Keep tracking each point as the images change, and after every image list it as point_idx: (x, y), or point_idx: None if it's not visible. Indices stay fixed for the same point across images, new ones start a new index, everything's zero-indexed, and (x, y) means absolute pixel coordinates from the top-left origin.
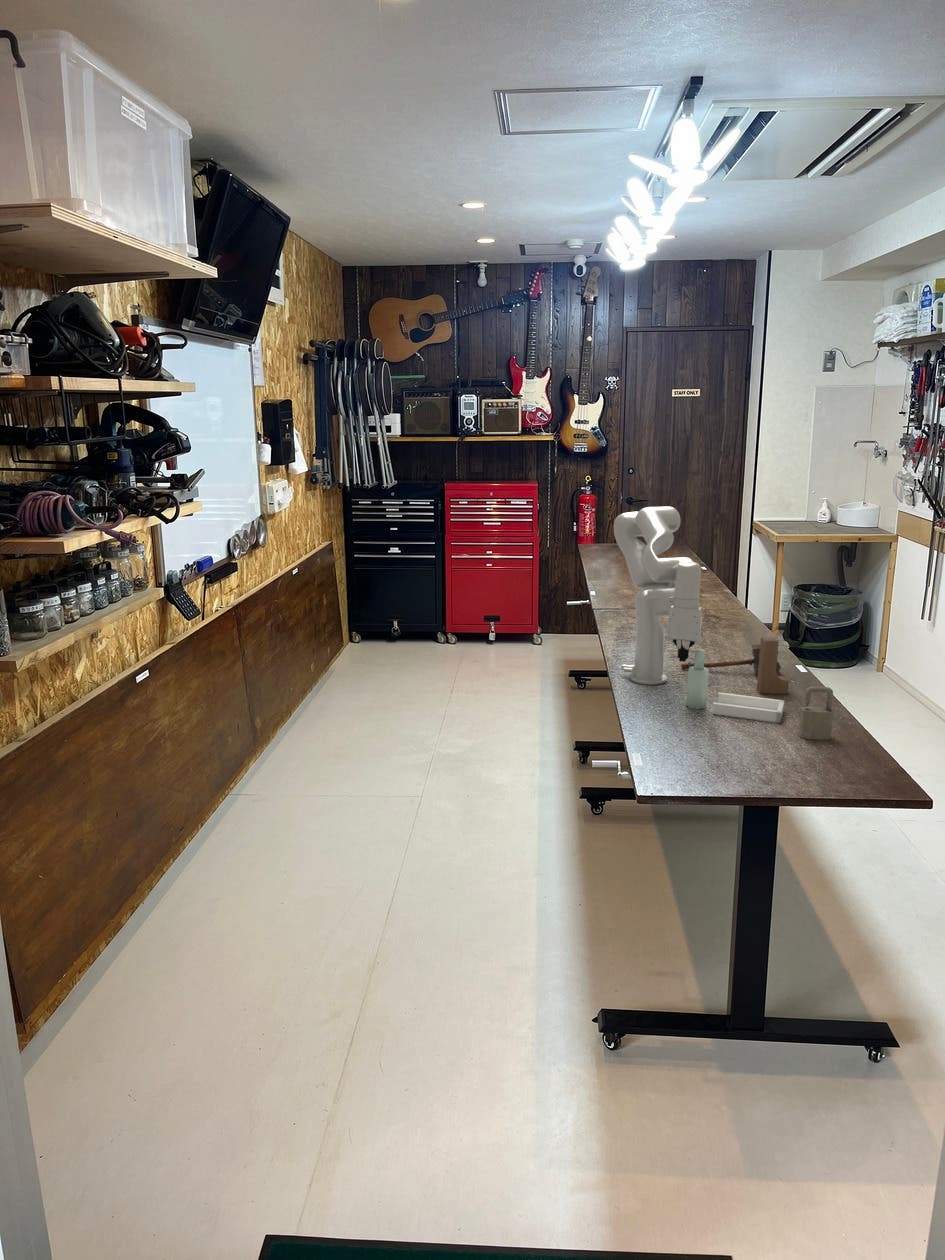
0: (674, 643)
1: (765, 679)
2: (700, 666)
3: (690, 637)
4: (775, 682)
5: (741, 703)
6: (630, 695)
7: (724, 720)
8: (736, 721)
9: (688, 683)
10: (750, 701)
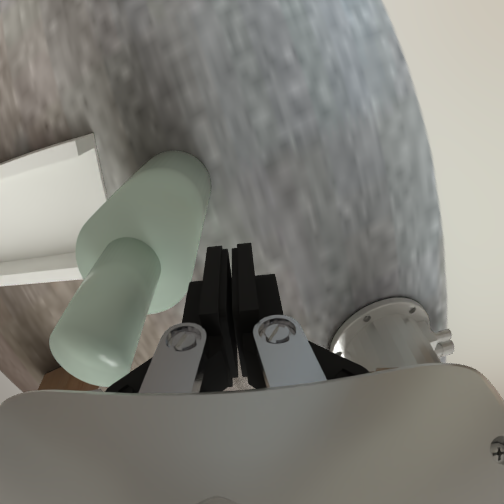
0: (342, 358)
1: (60, 389)
2: (101, 254)
3: (70, 433)
4: (50, 388)
5: (53, 257)
6: (417, 185)
7: (47, 102)
8: (20, 119)
9: (188, 193)
10: (29, 266)
